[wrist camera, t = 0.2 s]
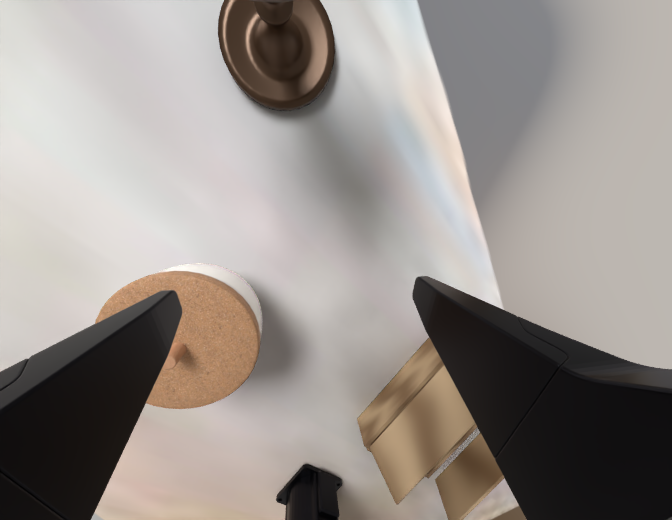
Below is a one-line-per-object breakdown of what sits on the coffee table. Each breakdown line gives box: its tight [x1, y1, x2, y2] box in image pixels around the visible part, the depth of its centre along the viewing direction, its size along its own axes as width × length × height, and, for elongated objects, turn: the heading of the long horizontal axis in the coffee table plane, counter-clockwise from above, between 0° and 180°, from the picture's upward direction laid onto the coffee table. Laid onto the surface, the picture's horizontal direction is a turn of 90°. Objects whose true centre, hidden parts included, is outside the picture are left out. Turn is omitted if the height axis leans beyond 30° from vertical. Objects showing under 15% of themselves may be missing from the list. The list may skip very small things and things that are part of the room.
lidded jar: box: [95, 263, 262, 409], centre depth 20 cm, size 11×11×9 cm
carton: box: [357, 338, 477, 478], centre depth 30 cm, size 15×11×4 cm
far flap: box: [435, 433, 504, 520], centre depth 26 cm, size 12×5×1 cm
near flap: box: [370, 366, 475, 504], centre depth 24 cm, size 12×5×1 cm
